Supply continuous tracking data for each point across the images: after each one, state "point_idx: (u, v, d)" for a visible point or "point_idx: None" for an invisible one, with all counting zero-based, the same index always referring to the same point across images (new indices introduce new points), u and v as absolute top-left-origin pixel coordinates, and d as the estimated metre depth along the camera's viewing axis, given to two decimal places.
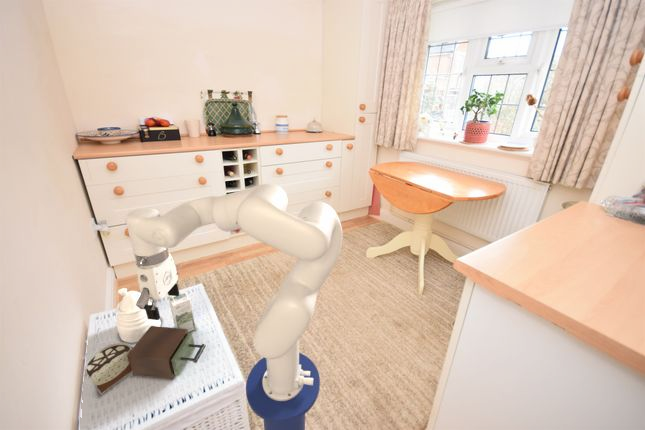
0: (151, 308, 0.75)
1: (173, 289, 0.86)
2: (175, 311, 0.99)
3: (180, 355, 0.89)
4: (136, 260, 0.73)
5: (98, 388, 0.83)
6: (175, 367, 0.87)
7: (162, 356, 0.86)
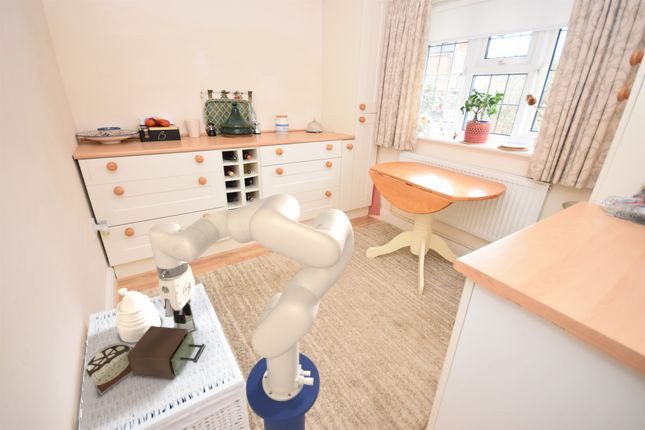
0: (179, 314, 0.82)
1: (186, 309, 0.86)
2: None
3: (180, 355, 0.89)
4: (158, 272, 0.76)
5: (98, 388, 0.83)
6: (175, 367, 0.87)
7: (162, 356, 0.86)
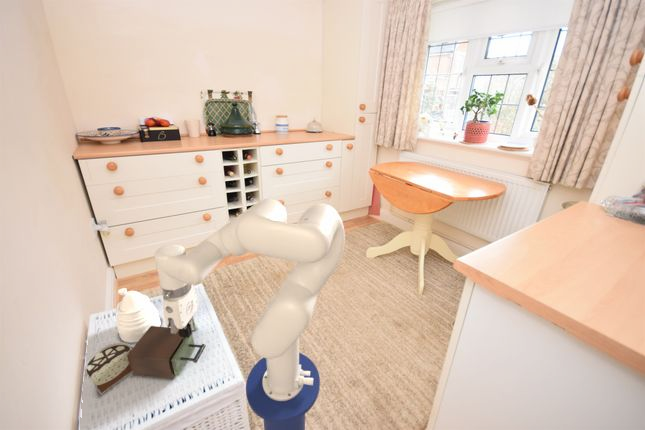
0: (184, 329, 0.85)
1: None
2: None
3: (180, 355, 0.89)
4: (162, 292, 0.79)
5: (98, 388, 0.83)
6: (175, 367, 0.87)
7: (162, 356, 0.86)
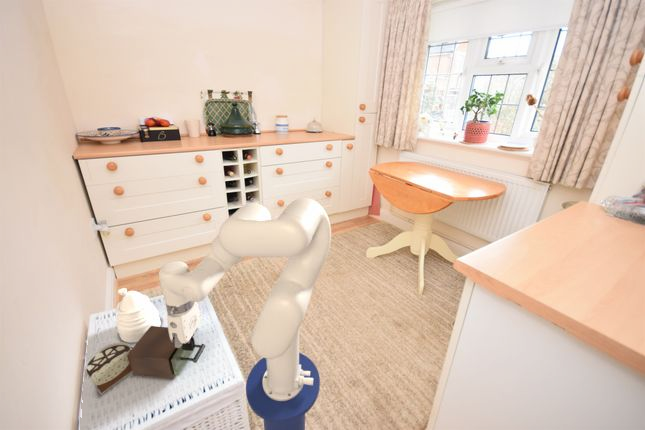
0: (187, 343, 0.88)
1: None
2: None
3: (179, 355, 0.89)
4: (166, 308, 0.81)
5: (98, 388, 0.83)
6: (175, 367, 0.87)
7: (162, 356, 0.86)
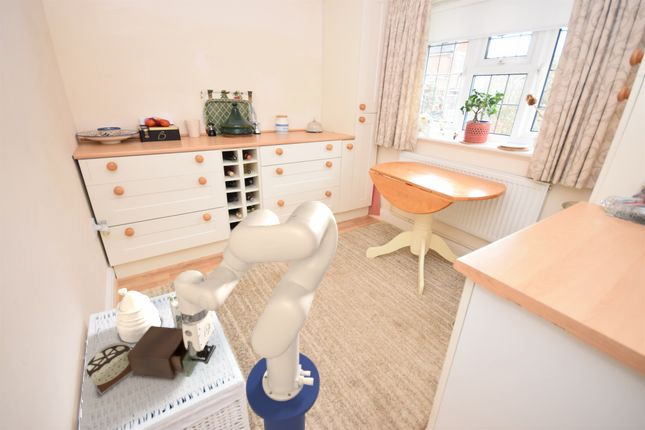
0: (202, 350, 0.88)
1: None
2: (175, 311, 0.99)
3: (190, 356, 0.89)
4: (181, 317, 0.82)
5: (98, 388, 0.83)
6: (186, 368, 0.87)
7: (162, 356, 0.86)
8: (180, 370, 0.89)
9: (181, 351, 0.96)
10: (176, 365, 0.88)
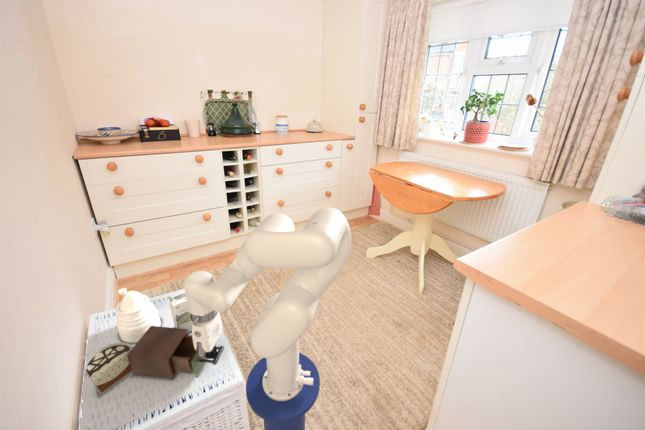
0: (210, 351, 0.88)
1: None
2: (175, 311, 0.99)
3: (199, 356, 0.88)
4: (191, 318, 0.82)
5: (98, 388, 0.83)
6: (195, 369, 0.87)
7: (162, 356, 0.86)
8: (189, 371, 0.89)
9: (189, 352, 0.95)
10: (185, 366, 0.88)
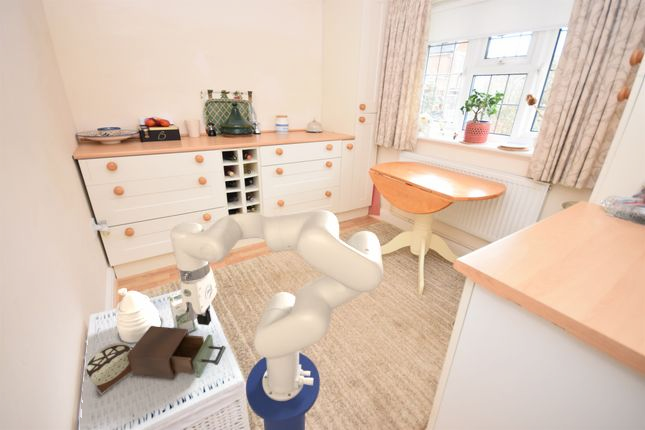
0: (203, 315, 0.79)
1: None
2: (175, 311, 0.99)
3: (201, 357, 0.88)
4: (179, 275, 0.73)
5: (98, 388, 0.83)
6: (196, 369, 0.87)
7: (162, 356, 0.86)
8: (190, 371, 0.89)
9: (191, 352, 0.95)
10: (186, 366, 0.88)
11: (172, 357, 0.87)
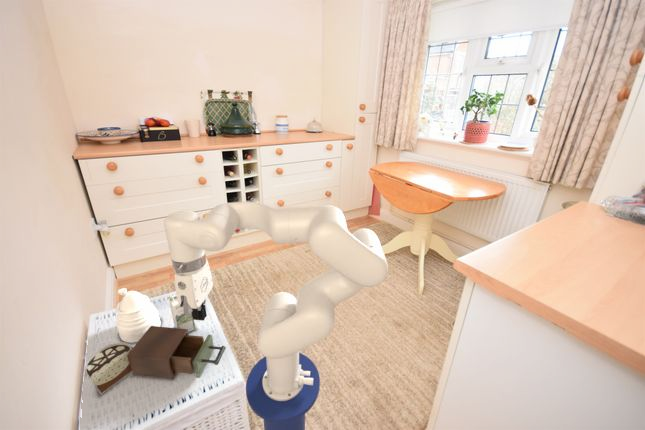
0: (198, 310, 0.75)
1: None
2: (175, 311, 0.99)
3: (201, 357, 0.88)
4: (174, 266, 0.68)
5: (98, 388, 0.83)
6: (196, 369, 0.87)
7: (162, 356, 0.86)
8: (190, 371, 0.89)
9: (191, 352, 0.95)
10: (186, 366, 0.88)
11: (172, 357, 0.87)
